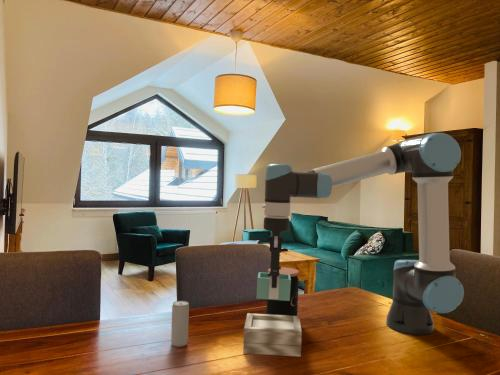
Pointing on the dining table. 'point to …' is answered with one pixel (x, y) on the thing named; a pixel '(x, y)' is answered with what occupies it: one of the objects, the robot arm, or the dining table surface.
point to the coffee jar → (290, 306)
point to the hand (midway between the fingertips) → (273, 294)
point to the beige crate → (272, 335)
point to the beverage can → (180, 323)
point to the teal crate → (264, 286)
